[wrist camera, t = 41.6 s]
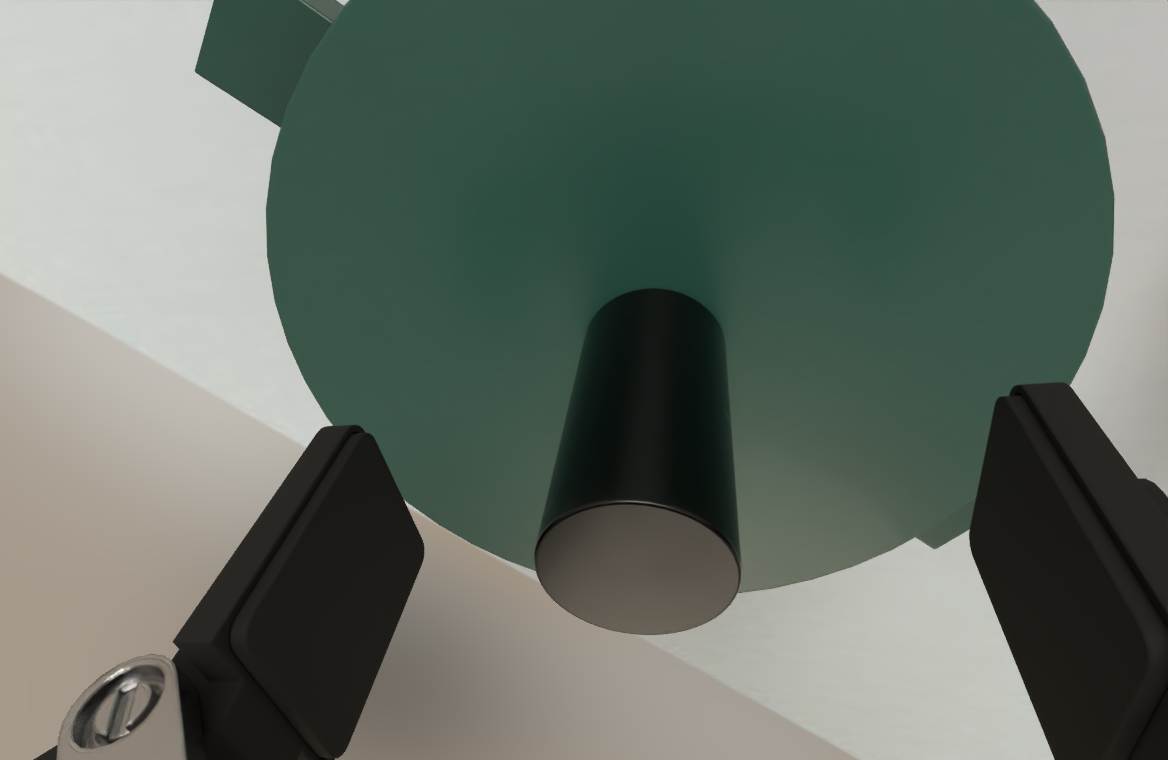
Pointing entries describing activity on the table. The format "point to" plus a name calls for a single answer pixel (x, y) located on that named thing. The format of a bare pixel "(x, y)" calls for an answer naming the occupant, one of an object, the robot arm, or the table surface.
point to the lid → (686, 272)
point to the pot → (271, 73)
